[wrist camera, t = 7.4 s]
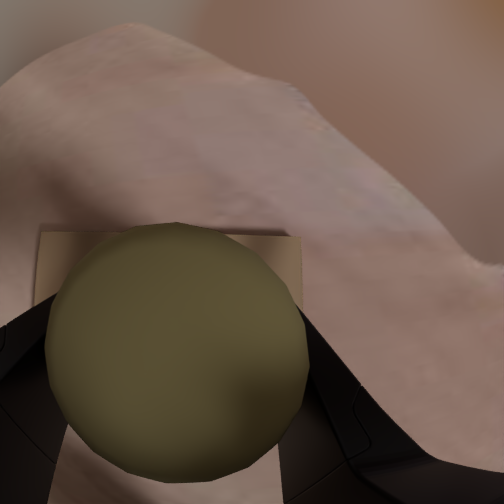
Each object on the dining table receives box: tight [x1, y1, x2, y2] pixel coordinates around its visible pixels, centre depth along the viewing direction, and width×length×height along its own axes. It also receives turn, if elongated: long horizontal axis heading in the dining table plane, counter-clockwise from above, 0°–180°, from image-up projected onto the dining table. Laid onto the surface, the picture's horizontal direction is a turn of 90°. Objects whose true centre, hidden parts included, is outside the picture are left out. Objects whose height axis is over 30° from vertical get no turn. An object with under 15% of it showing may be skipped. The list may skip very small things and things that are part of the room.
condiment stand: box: [34, 231, 303, 312], centre depth 19 cm, size 20×13×4 cm, turn 90°
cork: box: [44, 222, 310, 483], centre depth 9 cm, size 6×6×11 cm
